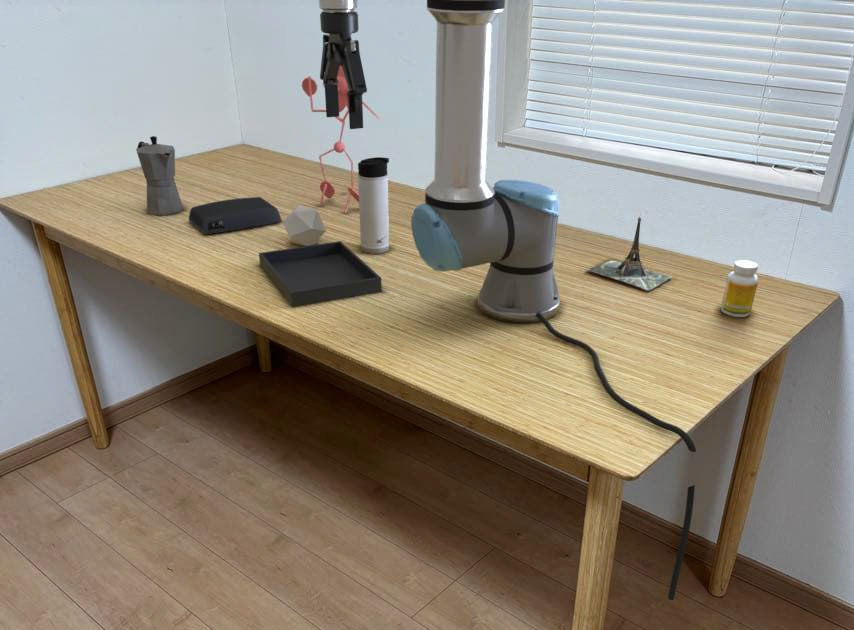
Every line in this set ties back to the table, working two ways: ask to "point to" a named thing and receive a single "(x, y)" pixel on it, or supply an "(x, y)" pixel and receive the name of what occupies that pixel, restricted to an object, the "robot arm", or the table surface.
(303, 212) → the die
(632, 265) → the eiffel tower figurine
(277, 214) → the hard drive
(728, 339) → the table surface
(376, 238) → the travel mug
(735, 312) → the supplement bottle
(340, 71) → the figurine
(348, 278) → the black tray
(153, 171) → the coffeepot
